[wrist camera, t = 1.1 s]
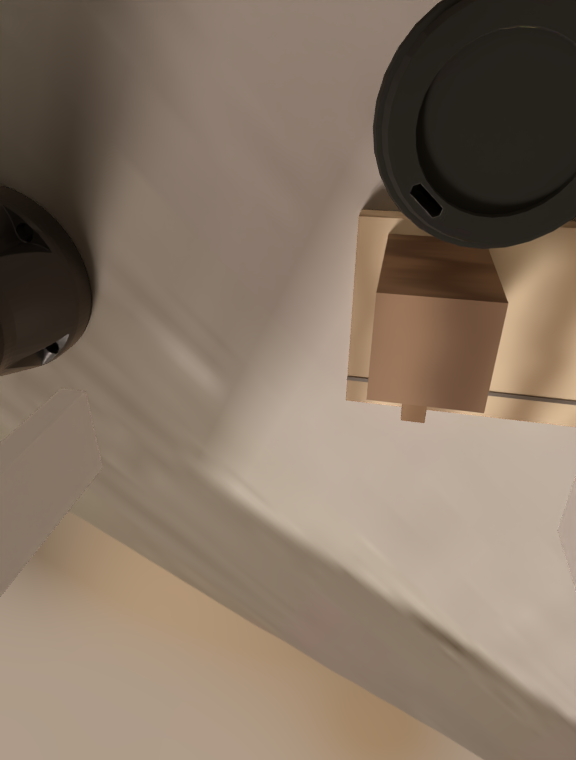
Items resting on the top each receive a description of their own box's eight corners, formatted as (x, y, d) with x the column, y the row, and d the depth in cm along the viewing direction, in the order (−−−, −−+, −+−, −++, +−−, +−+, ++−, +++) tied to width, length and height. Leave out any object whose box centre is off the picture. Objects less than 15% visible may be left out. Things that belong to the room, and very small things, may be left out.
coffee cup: (599, 102, 31) (722, 125, 18) (458, 223, 36) (478, 307, 23) (489, -40, 29) (542, -125, 16) (356, 108, 34) (316, 132, 21)
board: (348, 387, 44) (345, 400, 42) (361, 209, 37) (358, 216, 35) (709, 428, 39) (723, 445, 37) (802, 233, 32) (824, 242, 30)
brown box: (372, 391, 41) (358, 486, 32) (388, 233, 35) (376, 292, 26) (454, 401, 40) (464, 501, 31) (484, 239, 34) (508, 303, 25)
